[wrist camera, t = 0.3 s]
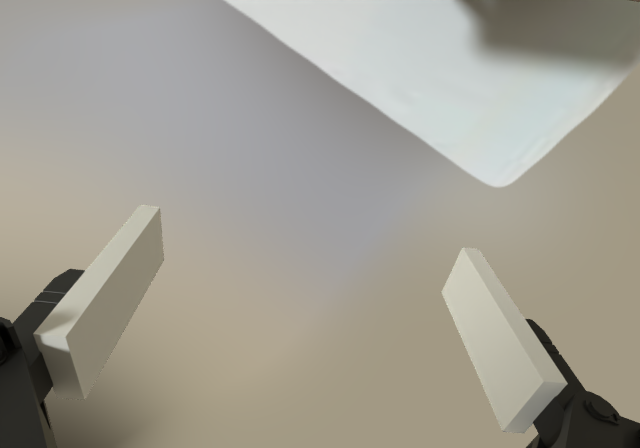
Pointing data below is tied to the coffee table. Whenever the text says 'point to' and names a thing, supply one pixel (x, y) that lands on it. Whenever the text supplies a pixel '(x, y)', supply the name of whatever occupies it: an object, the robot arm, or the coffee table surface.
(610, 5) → the coffee table surface
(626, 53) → the coffee table surface
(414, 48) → the coffee table surface
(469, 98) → the coffee table surface
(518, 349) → the robot arm
